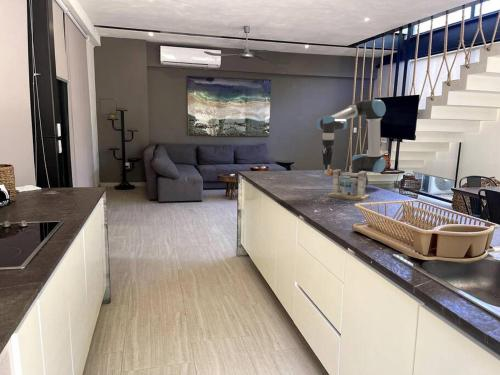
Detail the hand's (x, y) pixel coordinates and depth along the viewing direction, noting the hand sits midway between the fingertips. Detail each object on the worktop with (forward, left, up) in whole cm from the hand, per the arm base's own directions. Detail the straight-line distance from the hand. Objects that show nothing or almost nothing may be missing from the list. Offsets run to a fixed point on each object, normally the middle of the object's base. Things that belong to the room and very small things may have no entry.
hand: (326, 174), depth 256 cm
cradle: (0, +16, -14) cm, 21 cm away
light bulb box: (0, +16, -13) cm, 20 cm away
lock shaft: (0, +14, -1) cm, 14 cm away
